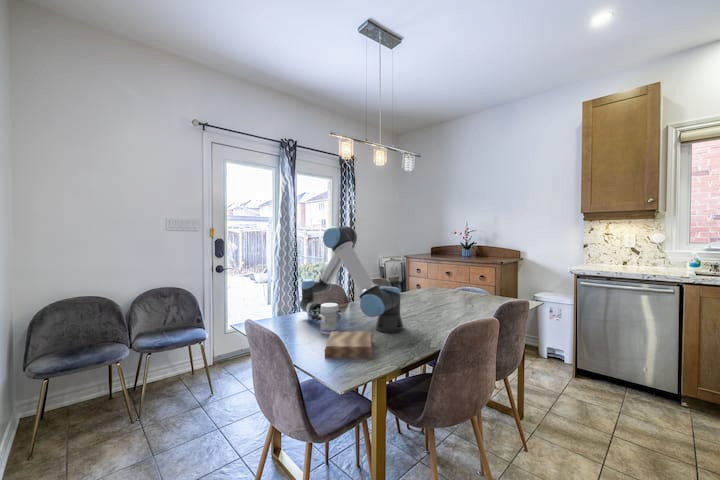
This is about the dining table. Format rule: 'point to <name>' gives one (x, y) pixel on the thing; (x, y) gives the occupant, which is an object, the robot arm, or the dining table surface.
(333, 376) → the dining table surface
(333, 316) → the supplement tub
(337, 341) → the wooden square block
